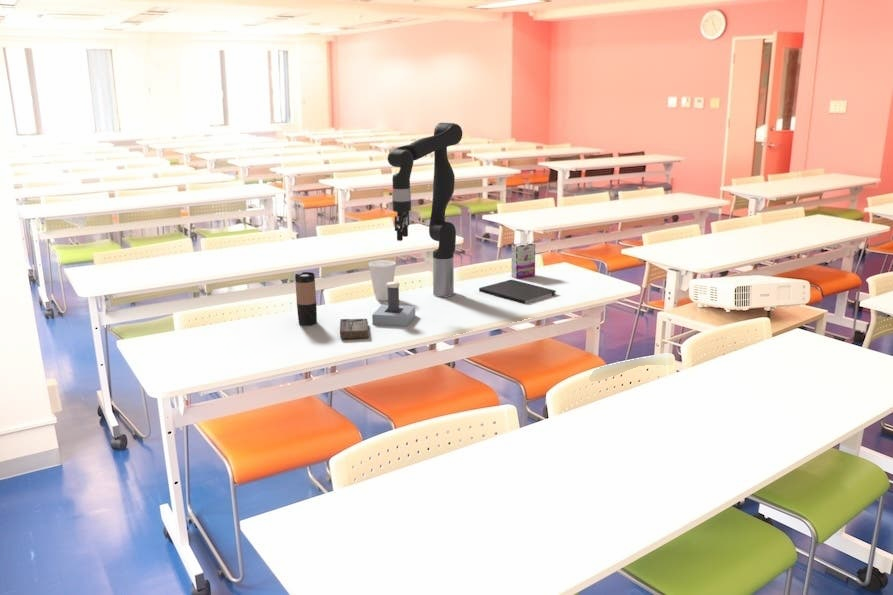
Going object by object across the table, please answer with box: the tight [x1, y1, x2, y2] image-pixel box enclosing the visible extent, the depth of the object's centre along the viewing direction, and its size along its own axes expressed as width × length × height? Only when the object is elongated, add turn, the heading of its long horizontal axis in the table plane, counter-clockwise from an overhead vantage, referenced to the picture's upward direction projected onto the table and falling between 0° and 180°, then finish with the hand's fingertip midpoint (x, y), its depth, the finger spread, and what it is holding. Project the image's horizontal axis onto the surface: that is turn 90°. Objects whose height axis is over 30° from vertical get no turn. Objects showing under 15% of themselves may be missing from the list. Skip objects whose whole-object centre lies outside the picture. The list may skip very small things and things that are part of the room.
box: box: [339, 318, 369, 340], centre depth 282 cm, size 11×17×3 cm, turn 8°
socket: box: [371, 303, 416, 327], centre depth 296 cm, size 14×14×4 cm
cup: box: [368, 259, 396, 301], centre depth 324 cm, size 12×12×16 cm
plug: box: [387, 281, 400, 313], centre depth 295 cm, size 5×5×15 cm
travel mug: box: [294, 271, 318, 327], centre depth 291 cm, size 8×8×20 cm
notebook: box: [478, 279, 557, 305], centre depth 333 cm, size 22×2×28 cm
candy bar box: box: [511, 241, 536, 280], centre depth 359 cm, size 11×5×16 cm, turn 119°
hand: (402, 238), depth 303 cm, fingers open, 8 cm apart
